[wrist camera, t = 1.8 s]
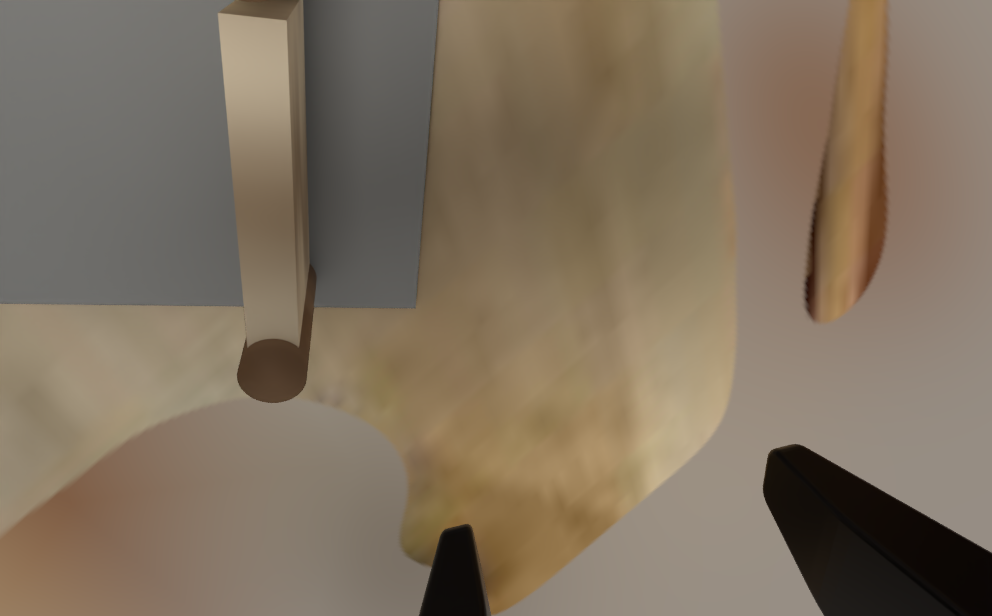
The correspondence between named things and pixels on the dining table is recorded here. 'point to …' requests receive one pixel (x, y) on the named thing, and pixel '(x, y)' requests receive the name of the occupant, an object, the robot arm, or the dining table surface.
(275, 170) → the fence gate
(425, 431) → the dining table surface
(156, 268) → the card
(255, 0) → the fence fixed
